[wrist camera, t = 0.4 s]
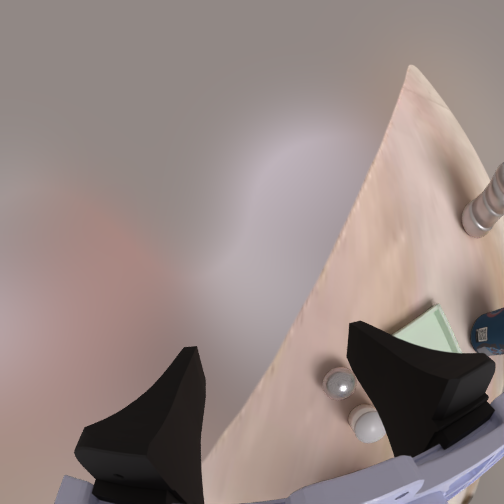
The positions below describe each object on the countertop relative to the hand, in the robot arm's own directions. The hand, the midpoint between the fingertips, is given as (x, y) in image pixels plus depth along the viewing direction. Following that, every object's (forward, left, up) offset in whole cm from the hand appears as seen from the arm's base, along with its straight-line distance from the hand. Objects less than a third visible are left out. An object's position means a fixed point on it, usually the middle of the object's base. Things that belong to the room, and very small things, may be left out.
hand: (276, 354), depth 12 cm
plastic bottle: (+2, -39, -27) cm, 47 cm away
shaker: (-14, -5, -27) cm, 30 cm away
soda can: (-15, -29, -27) cm, 42 cm away
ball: (-7, -4, -24) cm, 25 cm away
